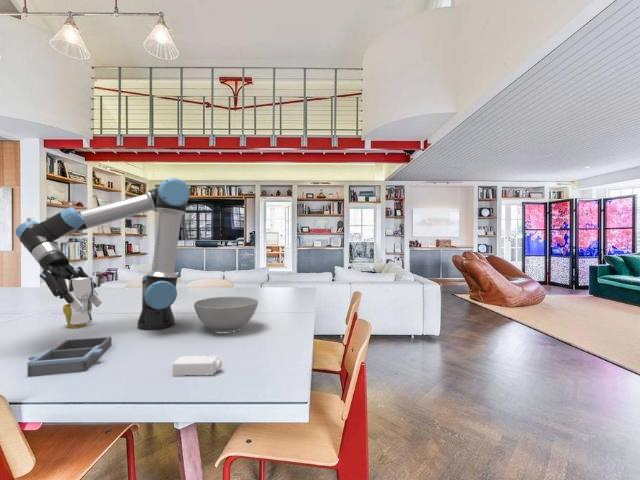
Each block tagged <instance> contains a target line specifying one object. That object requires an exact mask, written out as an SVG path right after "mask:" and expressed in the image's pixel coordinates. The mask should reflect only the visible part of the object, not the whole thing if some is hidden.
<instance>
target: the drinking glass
mask: <svg viewBox="0 0 640 480" xmlns="http://www.w3.org/2000/svg"><path fill="white" fill-rule="evenodd" d="M93 282H94V279H93V277H90V276H89V277H82V278H72V279H69V280H68V286H67V288H68V291H69V292H72V293H73V294H74V295H75V296H76V297H77V299H78V300H79V301H80V302H81V304H82V305H83V307H82V308H81V309H80V310H79V312H76V311H75V310H74V308H73V307H72V306H71V310H72V316H71V321H70V324H73V325H77V324H85V323H87V324H89V323H92V322H93V317H92V311H91V305H92V306H93V303H92V300H93V293H94V290H95V288H93ZM69 292H68V293H69Z"/></svg>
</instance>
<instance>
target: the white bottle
mask: <svg viewBox="0 0 640 480" xmlns="http://www.w3.org/2000/svg"><path fill="white" fill-rule="evenodd" d="M222 366H223V361H222V360H221V359H219V355H217V354H215V355H214V354H213V355H191V356H190V355H188V356H187V355H186V356H184V355H183V356H182V355H181V356H179V357H178V358H176V359H175V360H174V361H173V363H172V377H186V376H185V375H199V376H203V375H206V374H208V375H212V374H214V373H215V374H216V372H220V371H221V370H222ZM215 374H214V375H215ZM206 376H207V375H206ZM212 376H213V375H212Z"/></svg>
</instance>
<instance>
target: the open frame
mask: <svg viewBox="0 0 640 480" xmlns="http://www.w3.org/2000/svg"><path fill="white" fill-rule="evenodd" d="M112 338H113V337H112V336H107V337H106V336H104V337H103V336H101V337H90V338H77V339H66V340H64V341H63V342H61V343H60V344H58V345H56V346H55V347H54V348H48V349H46V350H44V351H43V352H41V353H34V354H32V355H30V356H29V357H28V362H27V364H26V365H27V377H36V376H37V377H38V376H48V375H57V374H58V375H59V374H66V373H67V374H68V373H78V372H87V370H88V369H89V368H90V367H91V366H92V365H93V364H94V363H95V362H96V361H97V360H98V359H99V358H100V357H101V356H102V355H103V354H104V353H105V352H106V351H107V350H108V349H109V348H110V347H111V346H112V344H113V343H112Z"/></svg>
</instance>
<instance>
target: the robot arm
mask: <svg viewBox="0 0 640 480" xmlns="http://www.w3.org/2000/svg"><path fill="white" fill-rule="evenodd" d="M190 196H191V190H190V187H189V186H188V185H187V183H186V182H185V181H184V180H183V179H180V178H176V177H172V178H166V179H164V180H163V181H162V182H161V183H160V184H159V186H157V187H156V188H155V187H154V188H152V189H149V190H146V192H145V193H144V194H141V195H136V196H133V197H129V198H128V197H127V198H125V199H121V200H118V201H113V202H109V203H106V204H101V205H97V206H94V207H91V208H87V209H83V210H80V211H77V209H76V208H75V207H73V206H70V207H68V208H65V209H62V210H61V211H59V212H58V213H56V214H55V215H52V216H50V217H49V218H47V219H45V220H43V221H41V222H38V221H36V220H29V221H27V222H23V223H20V224H19V225H18V226H17V227H16V228H15V232H14V233H15V235H16V237H17V238H18V239H19V241H20V244H22V246H24V247H25V249H26V250H27V251H28V252H29V253H30V255H31V256H32V257H33V259H34V260H35V261H36V262H37V263H38V264H39V266H40V267H41V269H42V271H41V272H40V274H39V278H41V280H43V282H44V283H45V284H46V286H47V287H48V289H49V290H50V292H51V293H52V295H53V297H56V298H58V297H59V298H58V299H60V300H62V299H64V300H65V302H66V304H70V305H71V306H72V307H73V308H74V310H75V311H76V312H79V310H80V309H81V308H82V307H83V305H82V304H81V302H80V301H79V300H78V299H77V297H76V296H75V295H74V294H73V293H72V292H69V291H68V286H67V285H68V284H67V281H66V280H68V281H69V279H72V278H82V277H90V276H89V275H88V274H87V273H86V272H85V271H84V269H83V267H82V266H78V267H74V266H72V265H71V264H70V260H69V259H68V257H67V256H66V254H65V253H64V252H63V251H62V249H61V248H60V247H59V245H57V243H56V242H55V241H56V240H59V239H60V238H62V237H64V236H65V235H68V234H69V235H72V234H76V233H78V232H81V231H85V230H87V229H90V228H91V229H92V228H94V227H97V226H101V225H105V224H108V223H112V222H116V221H120V220H123V219H126V218H130V217H134V216H136V215H140V214H144V213H148V212H150V211H153V212H158V220H157V228H156V229H157V230H156V235H155V242H154V250H153V251H154V252H153V257H152V258H153V260H152V265H151V270H150V271H149V272H148V273H147V274H145V275H144V276H142V279H141V284H142V285H141V286H142V288H141V289H142V291H141V292H142V293H141V294H142V295H141V298H142V299H141V301H142V302H141V312H140V315H139V317H138V319H137V326H136V327H137V329H138V330H148V331H149V330H151V331H152V330H161V329H166V328H170V327H173V326H174V325H175V324H176V322H175V321H176V319H175V316H174V313H173V310H172V305H173V304H174V303H175V302H176V300H177V297H178V290H177V284H178V282H177V281H178V275H177V274H176V273H175V268H176V259H177V254H178V253H177V252H178V244H179V237H180V229H181V224H182V223H181V222H182V216H184V215H185V214H186V212H187V206H188V201H189V199H190ZM96 287H97V284H96V283H95V281H93V288H94V293H93V300H92V305H94V307H96V308H98V307H99V306H101V304H102V303H103V300H102V299H101V297H100V296H99V294H98V293H97V291H96V290H95V289H96ZM68 292H69V293H68Z"/></svg>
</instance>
